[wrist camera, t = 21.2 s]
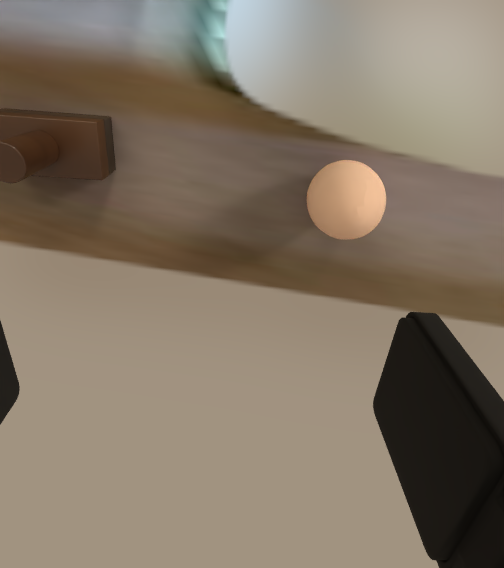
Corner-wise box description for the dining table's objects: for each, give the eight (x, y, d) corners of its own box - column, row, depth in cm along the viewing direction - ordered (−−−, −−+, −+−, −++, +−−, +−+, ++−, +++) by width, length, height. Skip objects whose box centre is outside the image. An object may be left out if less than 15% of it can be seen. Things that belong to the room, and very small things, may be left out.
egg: (287, 198, 33) (299, 230, 27) (329, 137, 31) (354, 156, 24) (340, 231, 35) (364, 270, 28) (383, 176, 33) (420, 204, 26)
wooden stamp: (2, 108, 29) (-79, 121, 22) (111, 116, 30) (68, 132, 22) (13, 163, 31) (-57, 192, 24) (115, 169, 32) (78, 200, 24)
